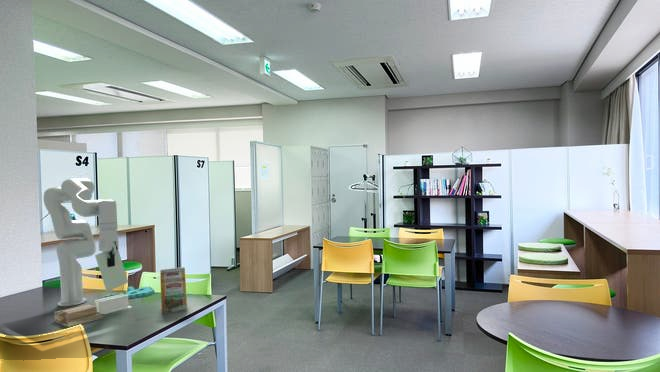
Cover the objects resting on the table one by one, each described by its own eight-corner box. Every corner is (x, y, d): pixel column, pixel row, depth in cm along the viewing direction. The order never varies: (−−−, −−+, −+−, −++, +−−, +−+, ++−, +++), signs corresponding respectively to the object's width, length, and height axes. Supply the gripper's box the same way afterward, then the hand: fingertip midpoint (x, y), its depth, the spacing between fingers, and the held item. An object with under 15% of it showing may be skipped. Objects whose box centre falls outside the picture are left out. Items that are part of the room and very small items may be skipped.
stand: (94, 314, 196) (94, 300, 196) (122, 307, 206) (122, 293, 206) (104, 317, 191) (103, 302, 191) (132, 309, 201) (131, 296, 201)
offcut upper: (62, 317, 180) (62, 311, 180) (90, 310, 189) (90, 304, 189) (68, 319, 176) (68, 313, 176) (96, 312, 185) (96, 306, 185)
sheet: (106, 291, 198) (94, 255, 195) (127, 282, 206) (116, 246, 202) (107, 291, 197) (96, 255, 194) (128, 282, 205) (117, 246, 202)
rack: (54, 325, 183) (54, 312, 183) (87, 316, 193) (86, 304, 193) (68, 330, 174) (68, 317, 174) (102, 321, 184) (101, 308, 184)
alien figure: (104, 300, 224) (138, 300, 220) (104, 295, 224) (138, 296, 220) (129, 290, 244) (161, 290, 240) (129, 286, 244) (161, 286, 240)
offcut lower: (63, 323, 180) (62, 317, 180) (90, 316, 189) (90, 310, 189) (69, 325, 176) (68, 319, 176) (97, 318, 185) (96, 312, 185)
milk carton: (186, 305, 205) (184, 265, 205) (186, 311, 195) (185, 269, 195) (162, 308, 202) (160, 267, 202) (161, 314, 192) (160, 271, 192)
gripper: (92, 227, 201) (94, 266, 201) (108, 227, 192) (110, 269, 192) (108, 225, 207) (110, 263, 207) (124, 226, 198) (126, 266, 198)
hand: (110, 266), depth 199 cm, fingers closed on sheet, 1 cm apart
